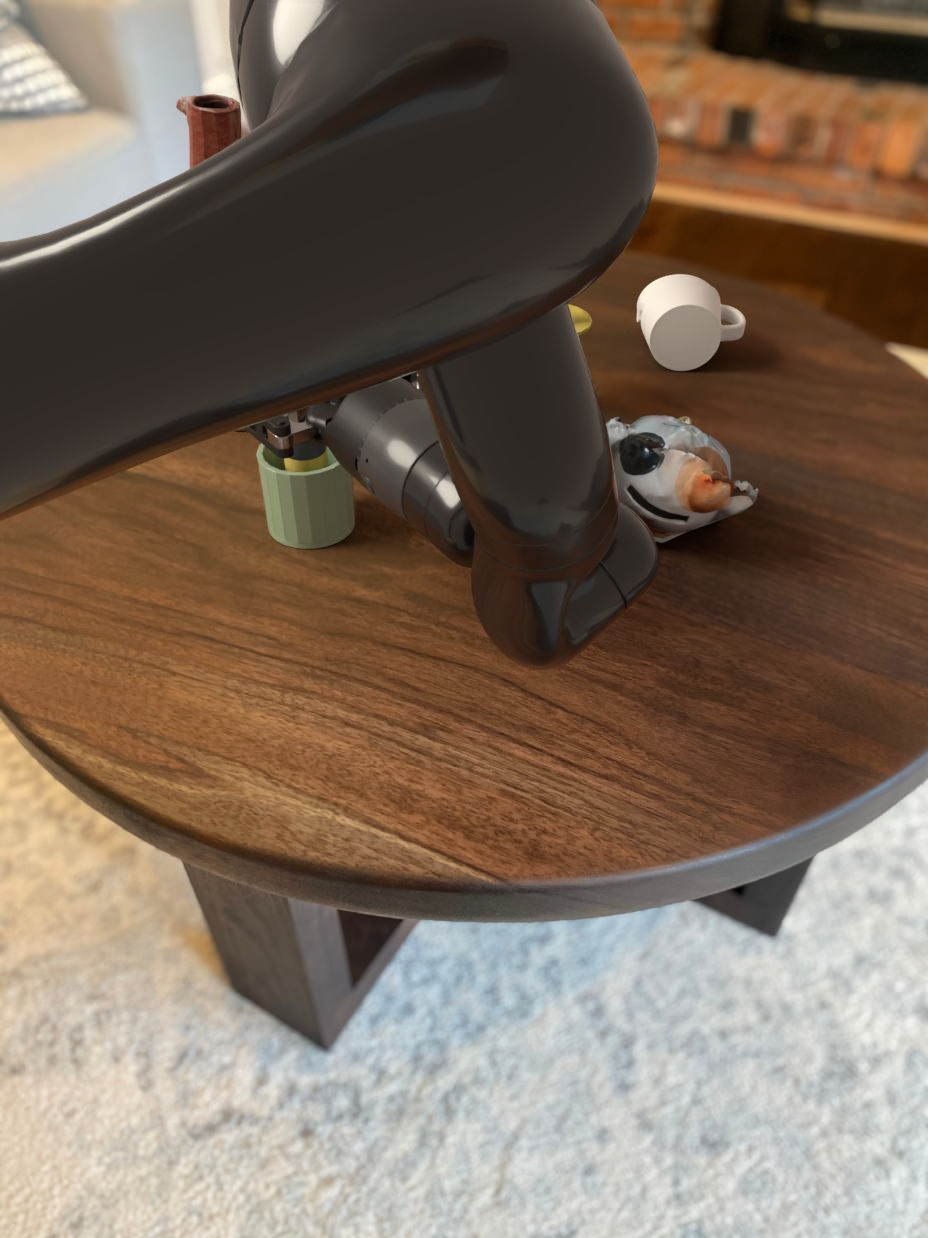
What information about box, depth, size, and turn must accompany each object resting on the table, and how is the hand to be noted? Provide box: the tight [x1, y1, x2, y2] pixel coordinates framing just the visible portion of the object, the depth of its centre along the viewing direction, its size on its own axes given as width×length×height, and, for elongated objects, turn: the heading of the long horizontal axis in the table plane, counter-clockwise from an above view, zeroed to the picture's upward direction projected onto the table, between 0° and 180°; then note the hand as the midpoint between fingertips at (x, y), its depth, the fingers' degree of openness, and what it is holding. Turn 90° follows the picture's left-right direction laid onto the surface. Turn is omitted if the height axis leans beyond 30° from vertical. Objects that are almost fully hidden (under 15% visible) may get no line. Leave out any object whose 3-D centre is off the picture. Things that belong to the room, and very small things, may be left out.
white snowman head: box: [605, 414, 760, 544], centre depth 80 cm, size 15×12×14 cm
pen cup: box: [255, 442, 356, 550], centre depth 82 cm, size 8×8×8 cm
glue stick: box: [284, 439, 328, 472], centre depth 81 cm, size 4×4×9 cm
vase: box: [175, 93, 248, 432], centre depth 89 cm, size 10×7×30 cm
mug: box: [636, 273, 747, 372], centre depth 109 cm, size 12×9×8 cm
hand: (299, 362), depth 73 cm, fingers open, 8 cm apart
